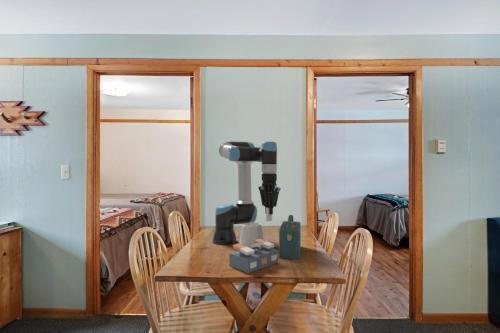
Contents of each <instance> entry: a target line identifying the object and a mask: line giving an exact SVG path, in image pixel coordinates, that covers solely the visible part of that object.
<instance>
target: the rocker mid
mask: <svg viewBox="0 0 500 333" xmlns="http://www.w3.org/2000/svg"><path fill="white" fill-rule="evenodd" d="M263 244H264V243H263V242H259V243H255V244H253V245H250V246H247V247H249V248H251V249H253V250H254V249H257V248H258V246H260V245H263Z"/></svg>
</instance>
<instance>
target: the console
mask: <svg viewBox="0 0 500 333" xmlns="http://www.w3.org/2000/svg"><path fill="white" fill-rule="evenodd" d="M254 250H255V251H254V254H250V255H245V254H244V253H240V252H239V251H238V250H235V251H232V252H229V253H228V254H229V255H228V256H229V263H228V265H229V267H231V268H234V269H237V270H239V271H242V272H244V273H246V274H250V273H253V272H256V271H258V270H260V269H264V268H268V267H269V266H272V265H275V264H278V262H279V261H278V259H279V257H278V256H279V249H275V248H269V249H268V248H265V247H261V246H258V248H257V249H254Z"/></svg>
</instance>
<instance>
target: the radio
mask: <svg viewBox="0 0 500 333" xmlns="http://www.w3.org/2000/svg"><path fill="white" fill-rule="evenodd" d="M301 224H302V223H301V221H294V215H293V214H289V215H288V218H287V221H286V220H283V221H282V222H281V225H280V227H279V230H278V237H279V239H278V242H279V243H278V247H279V249H278V256H279V257H278V258H281V259H291V260H292V259H295V260H299V259H300V258H301V246H302V245H301V241H302V240H301V235H302V234H301V233H302V232H301V231H302V230H301Z"/></svg>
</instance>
